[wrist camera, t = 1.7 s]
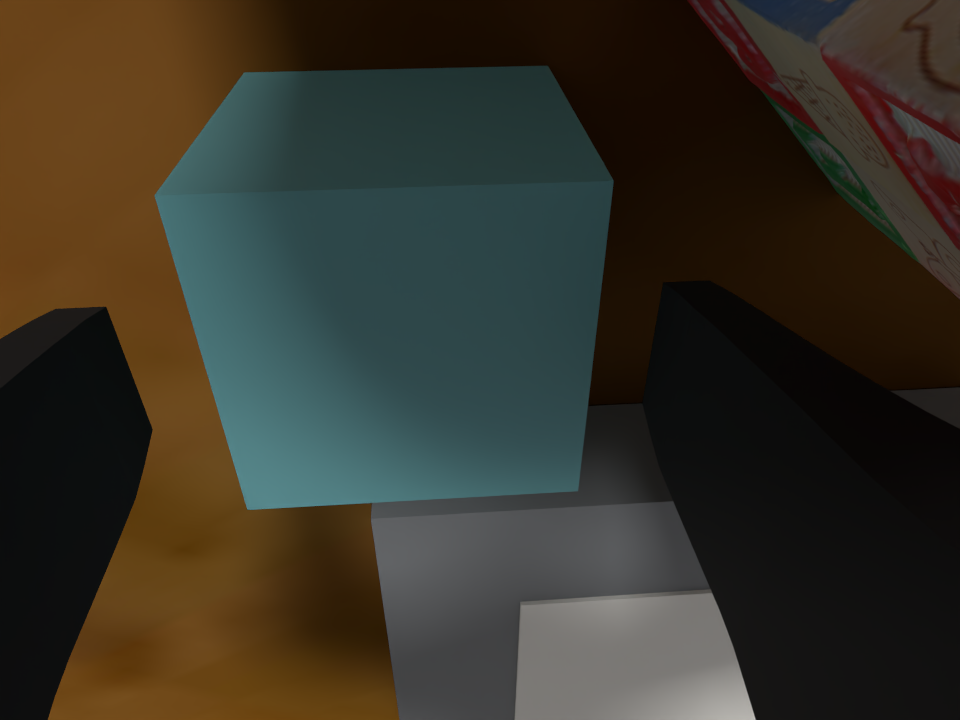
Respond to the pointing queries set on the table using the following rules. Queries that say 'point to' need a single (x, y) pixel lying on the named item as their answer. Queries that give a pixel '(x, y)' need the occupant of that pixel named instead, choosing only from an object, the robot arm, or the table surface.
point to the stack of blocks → (865, 105)
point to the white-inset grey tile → (564, 595)
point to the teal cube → (394, 281)
